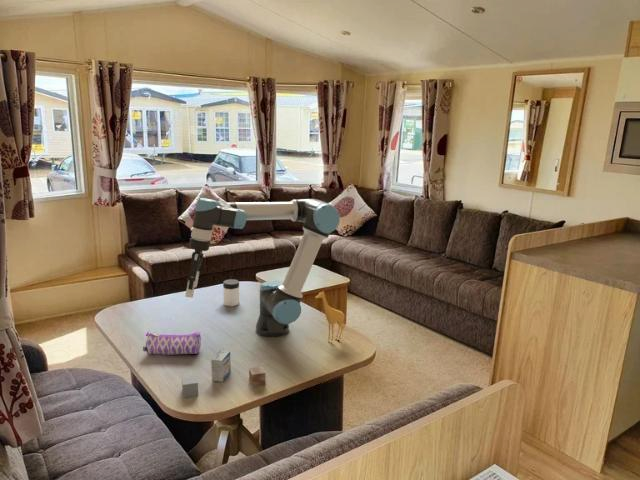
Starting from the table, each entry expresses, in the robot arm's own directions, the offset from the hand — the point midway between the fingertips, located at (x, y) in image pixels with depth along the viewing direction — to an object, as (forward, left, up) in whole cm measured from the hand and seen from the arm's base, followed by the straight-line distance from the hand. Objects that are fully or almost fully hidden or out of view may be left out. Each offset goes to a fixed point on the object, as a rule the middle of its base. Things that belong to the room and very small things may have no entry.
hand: (191, 291), depth 184 cm
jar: (-24, -54, -29) cm, 66 cm away
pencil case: (+7, -7, -29) cm, 31 cm away
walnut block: (-21, +25, -29) cm, 43 cm away
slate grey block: (+3, +25, -29) cm, 38 cm away
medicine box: (-9, +17, -29) cm, 35 cm away
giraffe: (-58, +2, -29) cm, 65 cm away
